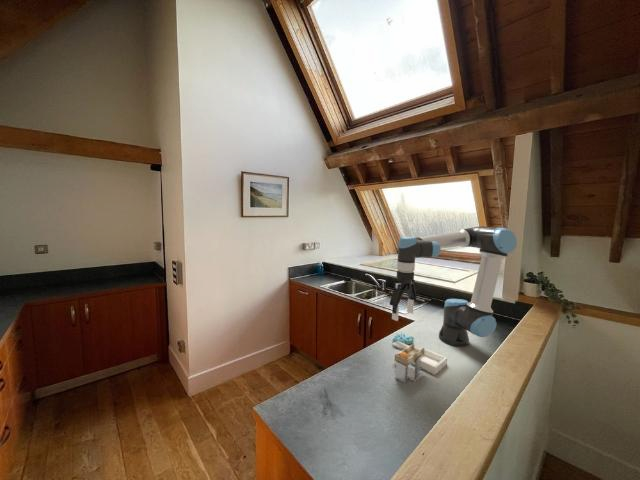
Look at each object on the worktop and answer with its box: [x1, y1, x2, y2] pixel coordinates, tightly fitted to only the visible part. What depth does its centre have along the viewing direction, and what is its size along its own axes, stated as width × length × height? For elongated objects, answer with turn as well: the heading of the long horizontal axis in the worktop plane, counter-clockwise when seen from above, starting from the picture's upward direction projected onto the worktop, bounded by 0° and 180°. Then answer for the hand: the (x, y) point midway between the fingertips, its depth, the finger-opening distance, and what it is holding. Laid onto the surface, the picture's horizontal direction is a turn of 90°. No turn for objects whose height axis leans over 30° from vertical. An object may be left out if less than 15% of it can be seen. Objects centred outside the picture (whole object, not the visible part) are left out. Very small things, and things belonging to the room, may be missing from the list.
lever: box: [391, 341, 426, 367], centre depth 117 cm, size 15×14×3 cm
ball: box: [400, 352, 408, 359], centre depth 111 cm, size 3×3×3 cm
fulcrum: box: [394, 358, 424, 384], centre depth 114 cm, size 11×10×8 cm
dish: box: [410, 347, 448, 376], centre depth 123 cm, size 12×12×4 cm
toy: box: [391, 332, 415, 345], centre depth 143 cm, size 10×5×15 cm
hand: (402, 316), depth 122 cm, fingers open, 12 cm apart
